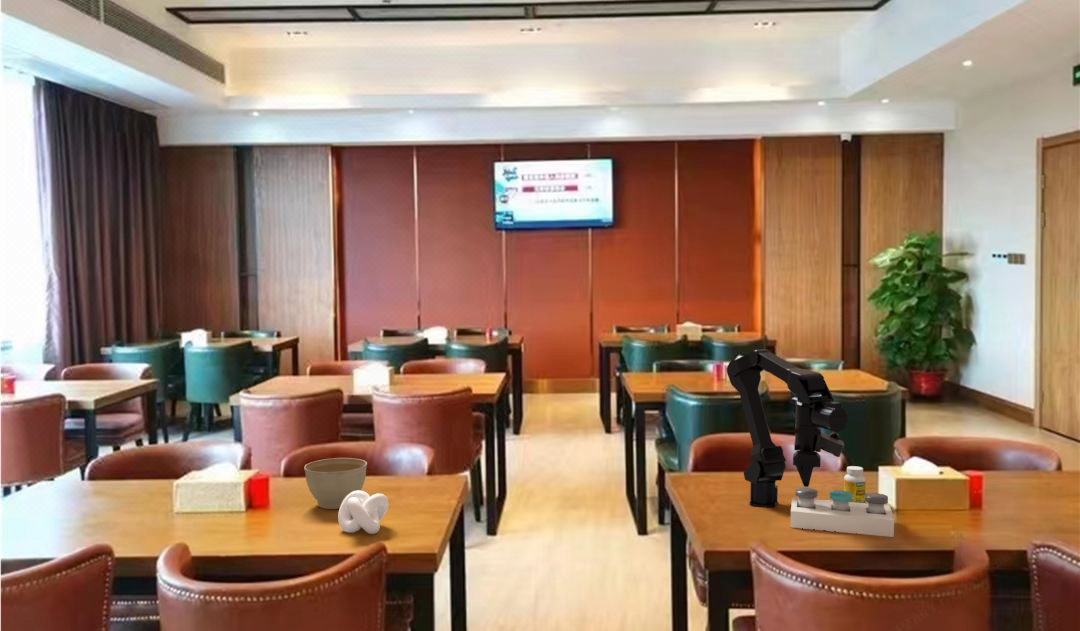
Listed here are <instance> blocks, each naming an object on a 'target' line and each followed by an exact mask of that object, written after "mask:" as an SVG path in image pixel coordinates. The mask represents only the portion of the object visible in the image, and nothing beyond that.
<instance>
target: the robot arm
mask: <svg viewBox="0 0 1080 631" xmlns="http://www.w3.org/2000/svg"><path fill="white" fill-rule="evenodd" d="M763 371H765V372H767V373H769V374H771V375H773V376H774V377H776V378H777V379H778V380H781V381H782V382H784V383H785V384H786V386H787V389H788V390H789V391H790V392H791V393H792V394H793V395H795V396H793V397H792V398H791V399H790V400H789V403H790V404H794V405H795V427H794V433H795V434H794V435H795V436H794V446H793V447H794V453H793V455H792V466H795V467H796V469H797V472H798V474H799V477H800V479H801V483H802V486H803V488H809V485H810V482H811V478H812V474H813V469H814V468H821V455H820V454H819V453H821V450H822V451H824V452H826V453H829V454H831V455H833V456H834V457H836V458H840V456H841V454H842V452H843V450H844V447H845V442H844V441H843V440H842V439H841V440H840V437H839V434H838V433H839V432H842V431H843V430H845V428H846V427H847V424H848V420H849V419H848V418H849V416H848V415H847V412H846V410H844V408H842V403H841V402H838V401H835V400H834V397H833V394H832V392H831V391H830V389H829V387H828V384H827V382H826V381H825V376H824V375H823V374H822V373H821V372H818V371H814V370H812V369H811V370H810V369H805V368H800V367H797V366H795V365H794V364H792V363H790V362H789V361H787V360H785V359H784V358H782V357H779V356H778V355H776V354H774V353H773V352H772V351H771V350H770V349H769V350H768V349H766V348H765V349H754V350H752V351H750V352H749V353H747V354H745V355H743V356H740V357H738V358H736V359H732V360H730V361H729V363H728V365H727V366H726V373H727V377H728V379H729V382H730V384H731V386H732V388H734V389H735V390H736V391H737V392H738V394H739V396H740V400H741V404H742V408H743V412H744V415H745V420H746V423H747V427H748V432H749V436H750V438H751V442H752V448H751V451H750V455H749V460H750V464H749V465H748V467H747V468H746V469H744V471H743V477H744V481H747V482H749V483H750V490H749V491H750V492H749V493H750V494H749V497H750V500H749V506H756V507H768V508H775V507H776V504H778V501H779V498H778V497H779V492H778V491H779V486H778V485H777V482H778V481H782V480H783V476H784V473H785V470H786V466H787V465H786V462H787V460H786V457H785V455H784V449H783V447H782V445H776V444H775V442H773V440H772V437H771V432H770V430H769V425H768V423H767V419H766V417H767V416H766V414H765V411H764V407H763V403H762V399H761V395H760V392H759V387H760V384H761V380H762V376H761V373H762V372H763ZM822 429H824V430H827V431H828V430H829V431H832V432H831V433H829V434H827V433H825V434H824V433H822Z"/></svg>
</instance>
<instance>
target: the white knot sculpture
mask: <svg viewBox="0 0 1080 631" xmlns="http://www.w3.org/2000/svg"><path fill="white" fill-rule="evenodd" d="M388 508H389V499H388V497H387V496H386V495H385V494H383V493H375V494H372V495H371V496H370V494H369V493H367V492H366V491H364V490H361V491H360V490H358V491H353V492H351V493H350V494H348V495H347V496H346V497H345V499H344V500H343V502H342V504H341V506H340V508H339V510H338V512H337V514H338V517H337V519H338V524H339V527H340V529H341V530H342V531H343V532H345V533H347V534H354V533H357V532H358V531H360V530H361V528H362V529H363V530H364V531H365V532H366V533H367V534H370V535H375V534H377V533H378V532H379V531H380V527H381V522H380V521H381V520H382V519H383V517H384V516H385V515H386V512H387V511H388Z"/></svg>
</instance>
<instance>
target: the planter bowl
mask: <svg viewBox="0 0 1080 631" xmlns="http://www.w3.org/2000/svg"><path fill="white" fill-rule="evenodd" d="M367 466H368V462H367V461H365V460H364V459H360V458H354V457H353V458H352V457H335V458H332V457H331V458H325V459H320V460H315V461H311V462H309V463H306V464H305V465H304V468H303V469H304V473H305V479H306V480H305V482H306V484H307V487H308V491H309V492H310V493H311V495H312V496H313V498H314V500H316V501H317V502H316V503H317V505H318V507H319V508H321V509H326V510H327V509H328V510H338V509H340V506H341V504H342V502H343V500H344V499H345V497H346V496H347V495H348V494H350V493H351V492H353V491H358V490H360V491H362V489H363V487H364V483H365V482H366V481H365V480H366V476H367V475H366V474H367V468H368V467H367Z"/></svg>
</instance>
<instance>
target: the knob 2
mask: <svg viewBox="0 0 1080 631" xmlns="http://www.w3.org/2000/svg"><path fill="white" fill-rule="evenodd" d="M865 503H867V504H868V513H871V514H883V515H884V505H888V504H889V497H888V495H886V494H882V493H877V492H868V493H865Z"/></svg>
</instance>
